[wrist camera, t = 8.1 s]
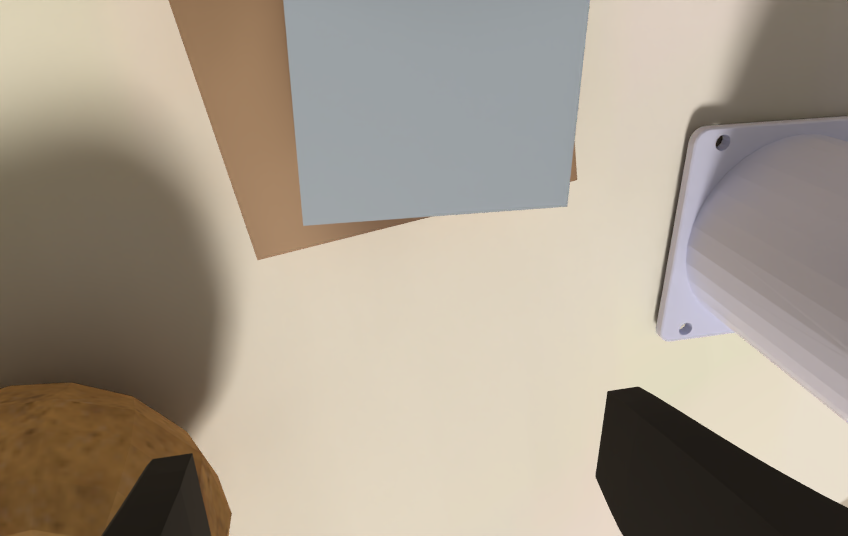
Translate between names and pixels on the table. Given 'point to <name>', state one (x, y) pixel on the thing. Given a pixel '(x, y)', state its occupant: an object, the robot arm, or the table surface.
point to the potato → (85, 459)
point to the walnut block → (258, 118)
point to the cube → (433, 105)
